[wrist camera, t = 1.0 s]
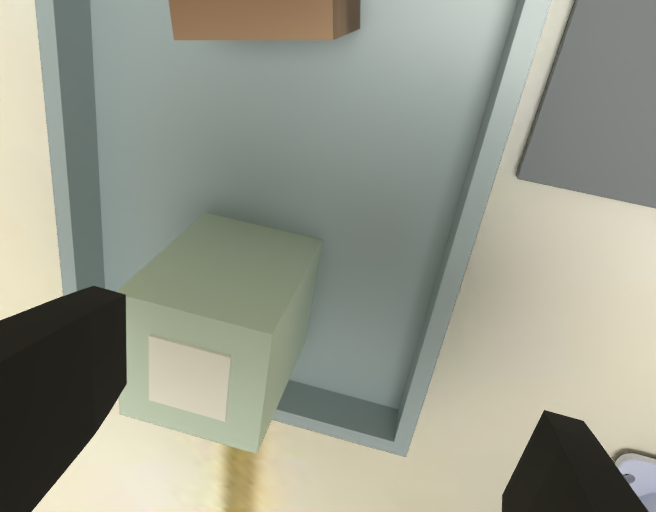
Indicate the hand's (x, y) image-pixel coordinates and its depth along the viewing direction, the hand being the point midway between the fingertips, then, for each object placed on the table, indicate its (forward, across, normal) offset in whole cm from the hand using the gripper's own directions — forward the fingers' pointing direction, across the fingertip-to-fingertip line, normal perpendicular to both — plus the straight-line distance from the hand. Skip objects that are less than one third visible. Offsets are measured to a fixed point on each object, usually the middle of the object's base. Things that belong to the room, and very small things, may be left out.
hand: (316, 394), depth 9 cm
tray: (+10, +4, -1) cm, 11 cm away
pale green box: (+10, +4, +4) cm, 12 cm away
